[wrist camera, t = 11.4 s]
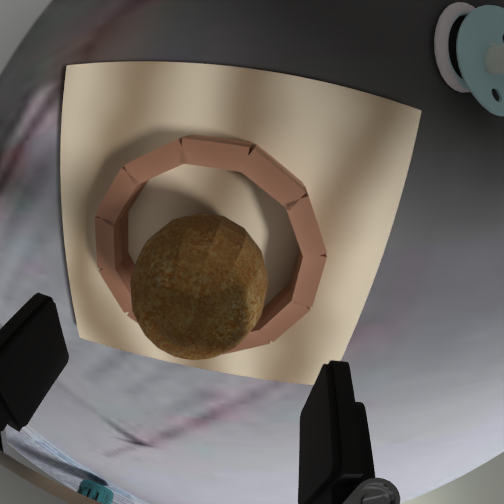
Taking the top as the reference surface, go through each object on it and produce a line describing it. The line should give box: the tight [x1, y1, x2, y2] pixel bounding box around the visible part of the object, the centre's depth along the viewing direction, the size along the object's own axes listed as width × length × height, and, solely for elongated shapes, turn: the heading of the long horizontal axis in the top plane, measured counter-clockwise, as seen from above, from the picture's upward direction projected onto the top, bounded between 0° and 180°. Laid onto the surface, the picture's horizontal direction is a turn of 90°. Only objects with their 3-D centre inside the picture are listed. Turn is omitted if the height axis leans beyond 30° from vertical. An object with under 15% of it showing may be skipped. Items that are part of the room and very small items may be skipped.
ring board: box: [60, 61, 421, 385], centre depth 18 cm, size 20×20×3 cm
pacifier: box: [434, 2, 504, 116], centre depth 10 cm, size 7×6×6 cm
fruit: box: [130, 213, 268, 360], centre depth 15 cm, size 6×6×8 cm
